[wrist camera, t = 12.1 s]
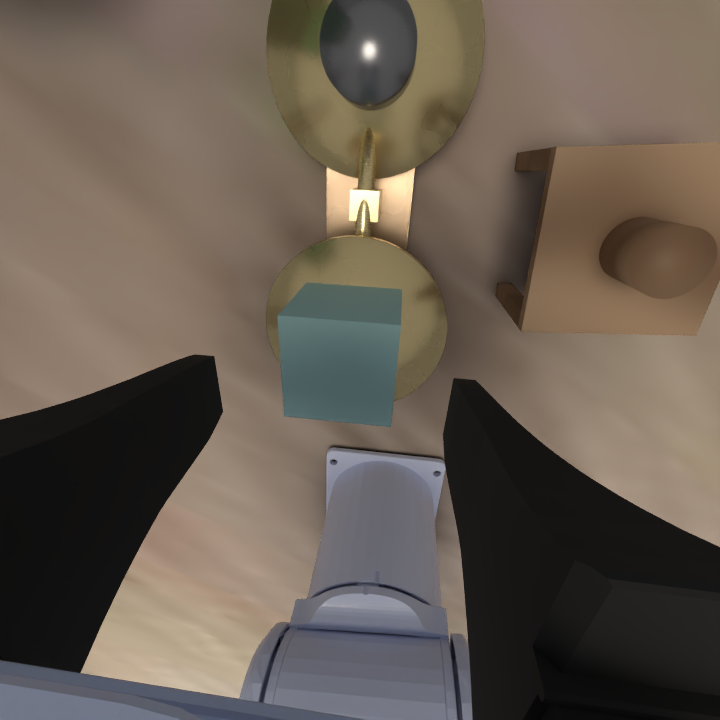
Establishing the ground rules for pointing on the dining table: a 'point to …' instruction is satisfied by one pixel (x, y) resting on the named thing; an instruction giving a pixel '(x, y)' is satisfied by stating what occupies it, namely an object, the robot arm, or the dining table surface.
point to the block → (340, 353)
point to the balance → (373, 143)
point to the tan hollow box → (621, 240)
